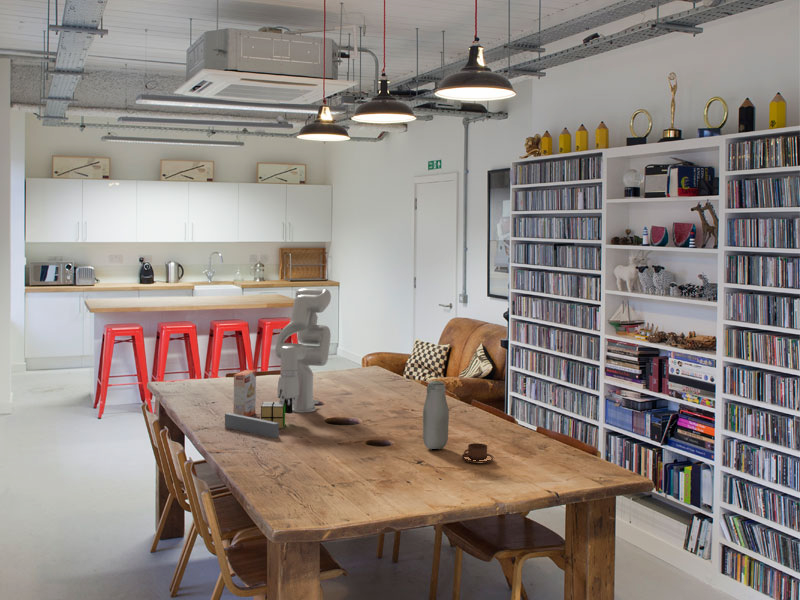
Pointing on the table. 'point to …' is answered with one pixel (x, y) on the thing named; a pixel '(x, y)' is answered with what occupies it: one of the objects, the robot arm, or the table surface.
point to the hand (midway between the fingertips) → (288, 413)
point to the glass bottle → (435, 416)
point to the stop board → (252, 425)
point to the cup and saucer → (476, 452)
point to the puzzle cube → (274, 412)
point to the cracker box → (245, 393)
